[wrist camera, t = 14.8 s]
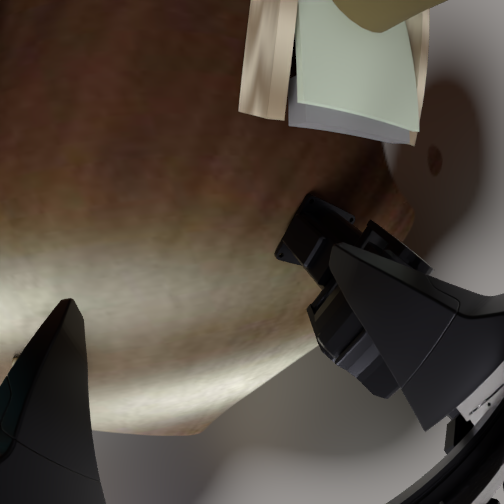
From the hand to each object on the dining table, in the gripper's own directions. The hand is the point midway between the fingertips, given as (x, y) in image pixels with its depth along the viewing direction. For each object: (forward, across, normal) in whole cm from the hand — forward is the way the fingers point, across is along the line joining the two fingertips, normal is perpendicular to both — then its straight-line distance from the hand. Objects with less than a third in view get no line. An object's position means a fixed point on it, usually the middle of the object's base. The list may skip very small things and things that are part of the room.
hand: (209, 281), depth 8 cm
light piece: (+10, -12, -10) cm, 18 cm away
